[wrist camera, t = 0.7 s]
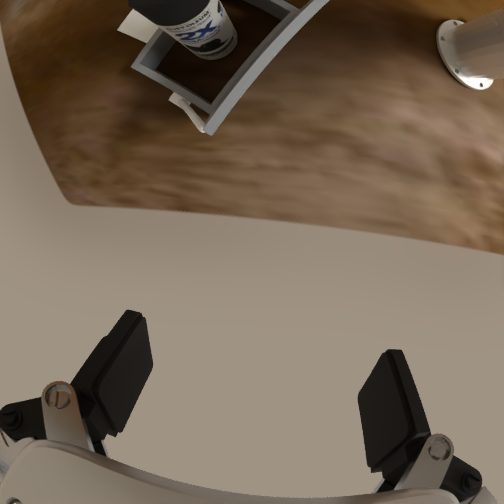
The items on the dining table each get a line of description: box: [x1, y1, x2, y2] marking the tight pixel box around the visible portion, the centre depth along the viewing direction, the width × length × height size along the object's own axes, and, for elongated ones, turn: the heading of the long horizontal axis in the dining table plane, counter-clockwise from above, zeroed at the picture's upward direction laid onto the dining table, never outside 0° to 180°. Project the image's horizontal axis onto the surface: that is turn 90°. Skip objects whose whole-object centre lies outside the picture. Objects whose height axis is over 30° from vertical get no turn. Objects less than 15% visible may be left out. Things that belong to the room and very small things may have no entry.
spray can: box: [128, 0, 237, 60], centre depth 20 cm, size 7×7×20 cm
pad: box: [118, 9, 159, 43], centre depth 27 cm, size 10×8×1 cm
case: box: [131, 0, 329, 136], centre depth 22 cm, size 19×18×19 cm
